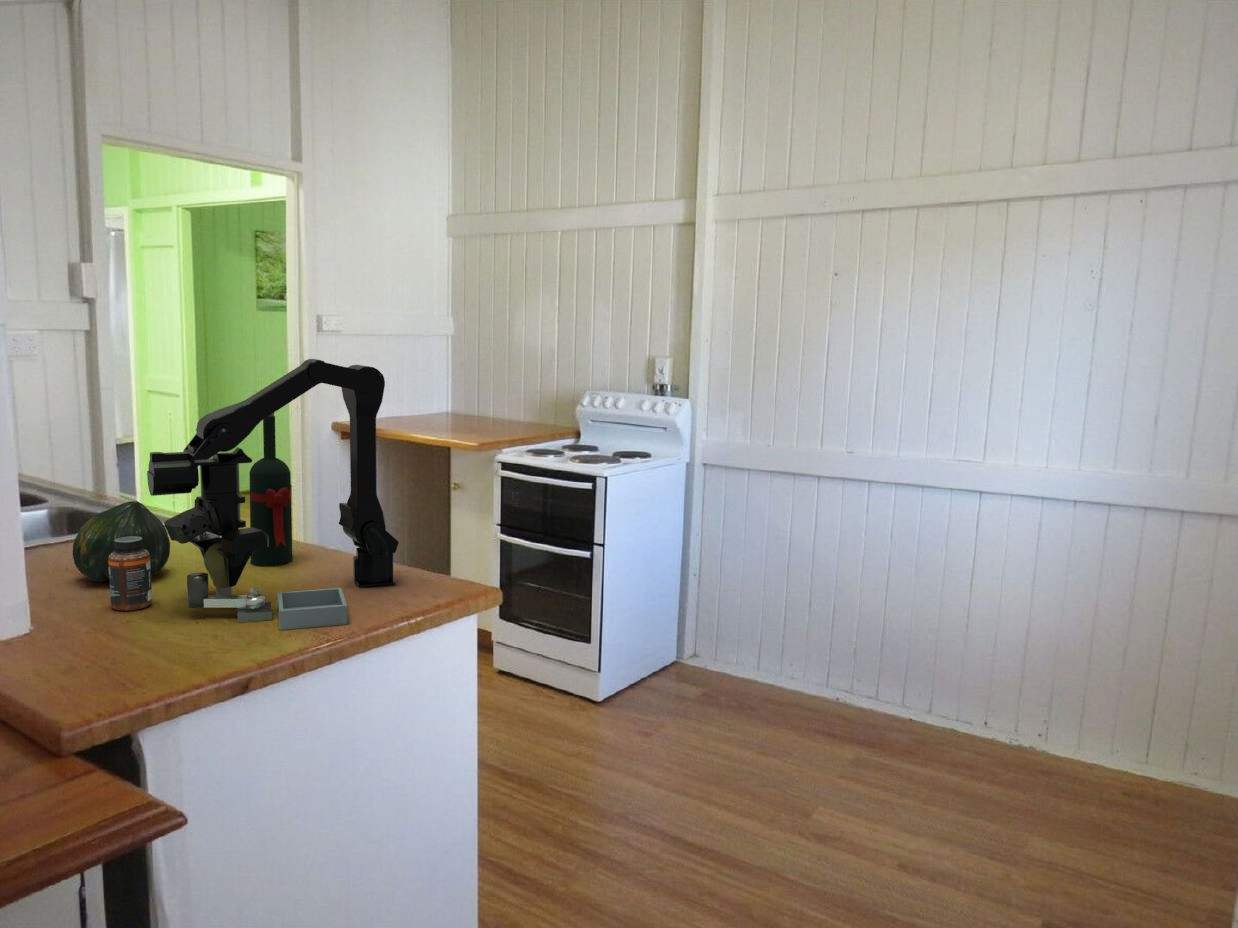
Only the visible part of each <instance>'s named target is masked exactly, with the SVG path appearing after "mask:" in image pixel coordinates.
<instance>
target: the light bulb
mask: <svg viewBox="0 0 1238 928" xmlns="http://www.w3.org/2000/svg"><path fill="white" fill-rule="evenodd" d="M218 548H223V547H222V545H221V542H218V543H215V544H213V545H212V546H211V547H209V549H208V550H207V551H206V553H205V556H204V558H203V563H204V567H205V569H206V571H207V573H208V575H209V576H211V577H210V579H211V578H212V579H211V580H212V583H213V586H214V587H215V595H233V591H232V590H233V589H232V588H233V587H229V586H228V582H227V577H226V570H225V564H224V558H223V556H222V555H220V554H219V553H218V552H217V551H216V550H215V549H218Z"/></svg>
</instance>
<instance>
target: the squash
mask: <svg viewBox="0 0 1238 928" xmlns="http://www.w3.org/2000/svg"><path fill="white" fill-rule="evenodd" d="M129 536H137V537H141V538H142V540H143V548H144V549H145V550H147V551H148V552H149V554H150V565H151V577H152V576H155V575H157V574H158V573H159V572H160V571H161V570H162V569H163V568H164V567H165V566H166V564H167V563H168V561H169V557H170V553H171V542H170V541H171V540H170V536H169V534H168V532H167V529H166V527H165V525H164V522H162V521H161V520H160V519H159V517H157V516H156V514H154V513H153V512H152V511H151V510H150V509H149V508H148V507H147V506H146V505H145V504H143V503H141V502H140V501H138V500H131V501H126V502H124V503H120V504H118V505H115V506H114V507H111V508H110V509H109V508H108V509H107V510H104V511H102V512H100V513H98V514H95V515H94V516H93V517H91V518H90V519H88V520H87V521H86V522H85V523H84V524H83V525H82V526H81V527H80V529H79V530H78V533H77V535H75V538H74V541H73V544H72V559H73V563H74V565H75V567H76V568H77V570H78V571H79V572H80V573H81V575H83V576H84V577H86V578H89V580H90V579H91V580H93V581H96V582H100V583H101V582H107V581H109V562H108V559H109V555H110V554H111V553H112V552H113V551H114V550H115V548H114V540H115V539H117V538H121V537H129Z"/></svg>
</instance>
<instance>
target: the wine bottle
mask: <svg viewBox="0 0 1238 928" xmlns="http://www.w3.org/2000/svg"><path fill="white" fill-rule="evenodd" d="M262 429H263V430H262V431H263V432H262V433H263V434H262V435H263V436H262V437H263V439H262V440H263V441H262V442H263V457H262V458H260V459H259V460H257V461H256V462H254V463H253V464H252V466H251V468H250V470H249V528H250V527H253V528H256V529H260V530H263V531H264V532H265V533H267V534H268V535H269V547H267V548H262V549H256V550H254V551H253V553H252V555H251V556H250V565H252V566H255V567H263V568H270V567H280V566H285V565H289V564H290V563H292V562H293V527H292V526H293V525H292V523H293V522H292V521H293V520H292V484H291V483H292V482H291V479H292V478H291V470H290V467H289V466H288V465H287V464H286V462H285V461H283V460H282V459H280V458H277V453H276V452H277V451H276V450H277V449H276V416H275V412H274V413H273V414H271V415H269V416H268V417H266V418H265V419H263V420H262Z"/></svg>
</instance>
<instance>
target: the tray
mask: <svg viewBox="0 0 1238 928" xmlns="http://www.w3.org/2000/svg"><path fill="white" fill-rule="evenodd" d="M277 615H278V626H279V631H282V630H283V631H284V630H285V631H286V630H294V629H295V630H296V629H308V628H317V627H318V628H320V627H328V626H340V625H348V604H347V600H346V598H345V595H344V591H343V589H342V588H341V587H334V588H320V589H307V590H305V589H304V590H294V591H293V590H290V591H279V592H277Z"/></svg>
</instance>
